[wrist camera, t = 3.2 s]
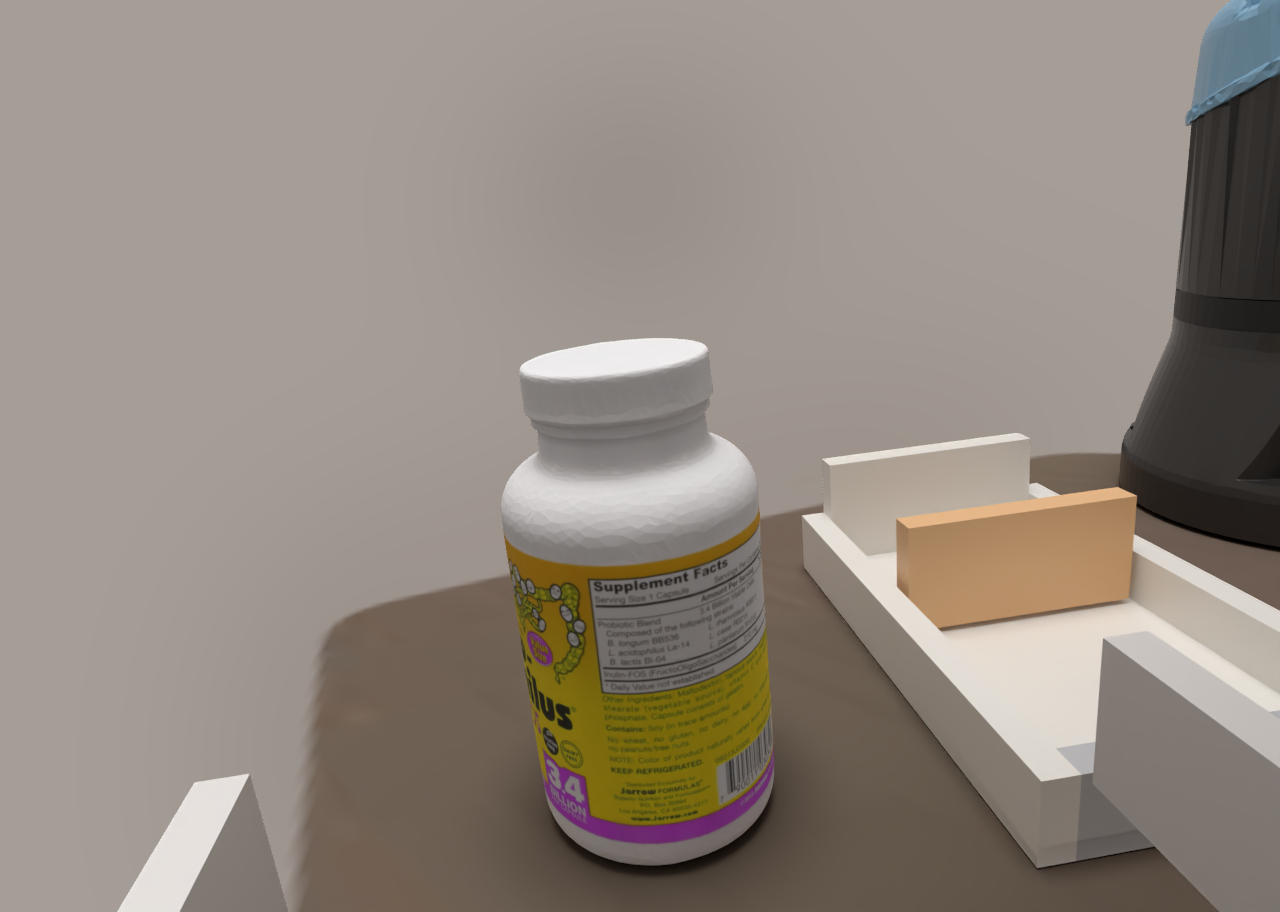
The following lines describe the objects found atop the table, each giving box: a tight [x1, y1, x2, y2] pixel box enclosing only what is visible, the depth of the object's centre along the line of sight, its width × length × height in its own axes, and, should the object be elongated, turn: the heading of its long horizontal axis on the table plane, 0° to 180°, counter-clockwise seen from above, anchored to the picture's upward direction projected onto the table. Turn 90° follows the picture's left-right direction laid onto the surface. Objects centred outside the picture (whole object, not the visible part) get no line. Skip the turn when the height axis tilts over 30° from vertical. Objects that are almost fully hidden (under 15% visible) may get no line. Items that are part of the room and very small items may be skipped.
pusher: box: [896, 487, 1137, 628], centre depth 30 cm, size 8×1×4 cm, turn 97°
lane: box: [802, 433, 1280, 868], centre depth 28 cm, size 11×18×5 cm, turn 7°
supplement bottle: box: [501, 338, 774, 865], centre depth 22 cm, size 7×7×13 cm
